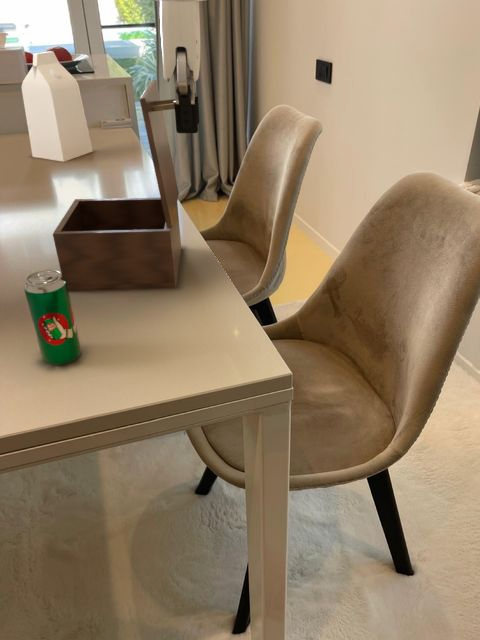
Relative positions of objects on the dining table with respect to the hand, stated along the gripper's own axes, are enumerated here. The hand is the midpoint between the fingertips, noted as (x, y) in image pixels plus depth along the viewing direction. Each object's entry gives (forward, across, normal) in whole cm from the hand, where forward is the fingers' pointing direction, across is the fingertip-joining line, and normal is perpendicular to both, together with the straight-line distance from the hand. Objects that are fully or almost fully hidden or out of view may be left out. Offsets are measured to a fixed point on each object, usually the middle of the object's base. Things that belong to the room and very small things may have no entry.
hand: (188, 127), depth 86 cm
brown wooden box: (+24, 0, -12) cm, 27 cm away
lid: (+4, 0, -5) cm, 6 cm away
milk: (+24, -77, -41) cm, 91 cm away
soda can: (+24, +27, -17) cm, 40 cm away
